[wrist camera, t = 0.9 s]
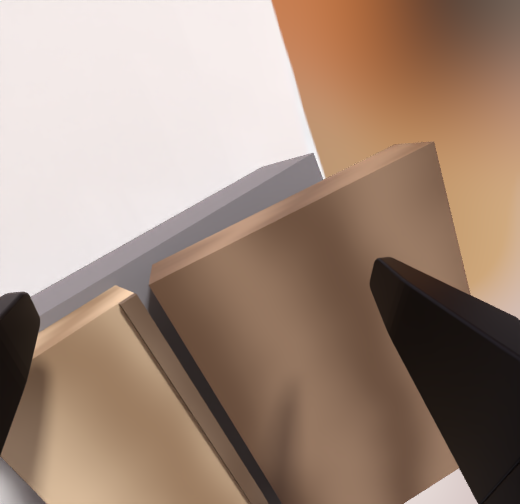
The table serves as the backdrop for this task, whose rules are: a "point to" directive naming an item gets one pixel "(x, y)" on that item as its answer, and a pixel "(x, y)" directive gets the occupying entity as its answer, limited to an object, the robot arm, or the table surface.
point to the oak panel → (119, 417)
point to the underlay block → (168, 243)
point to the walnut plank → (321, 329)
